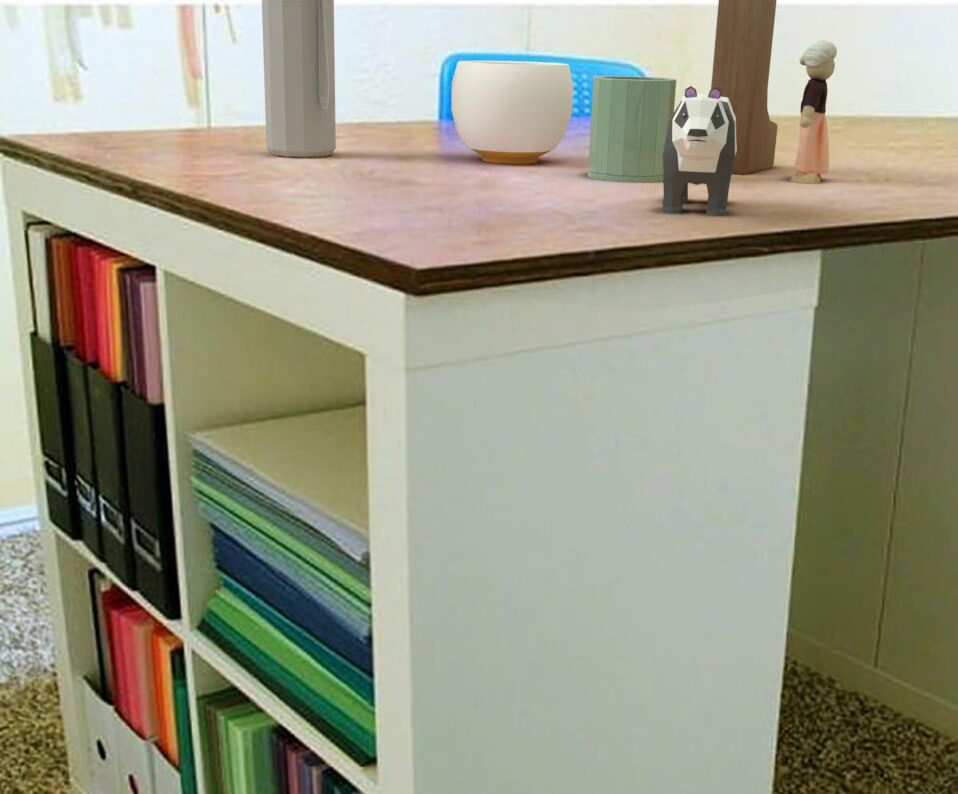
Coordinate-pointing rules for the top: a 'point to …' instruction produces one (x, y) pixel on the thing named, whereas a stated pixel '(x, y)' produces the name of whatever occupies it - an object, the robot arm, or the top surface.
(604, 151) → the green cup
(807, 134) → the grandmother figurine
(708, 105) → the giant panda
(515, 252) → the top surface
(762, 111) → the wooden block
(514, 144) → the cup
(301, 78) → the water bottle
